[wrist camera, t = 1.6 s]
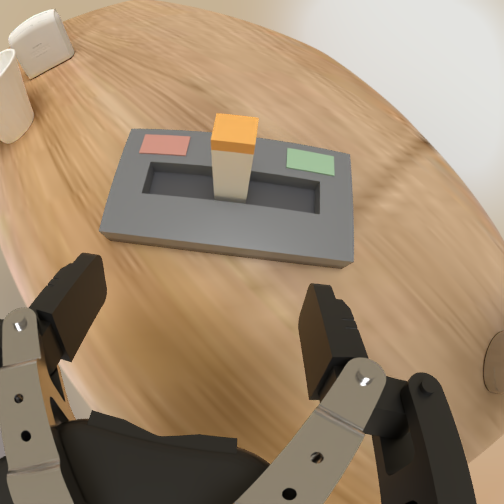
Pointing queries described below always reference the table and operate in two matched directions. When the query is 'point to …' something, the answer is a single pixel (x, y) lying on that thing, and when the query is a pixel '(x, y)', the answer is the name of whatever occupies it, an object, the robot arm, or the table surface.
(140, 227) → the slotted lever switch base
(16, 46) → the photo printer
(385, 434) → the robot arm
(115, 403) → the table surface
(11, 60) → the cup
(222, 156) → the handle
